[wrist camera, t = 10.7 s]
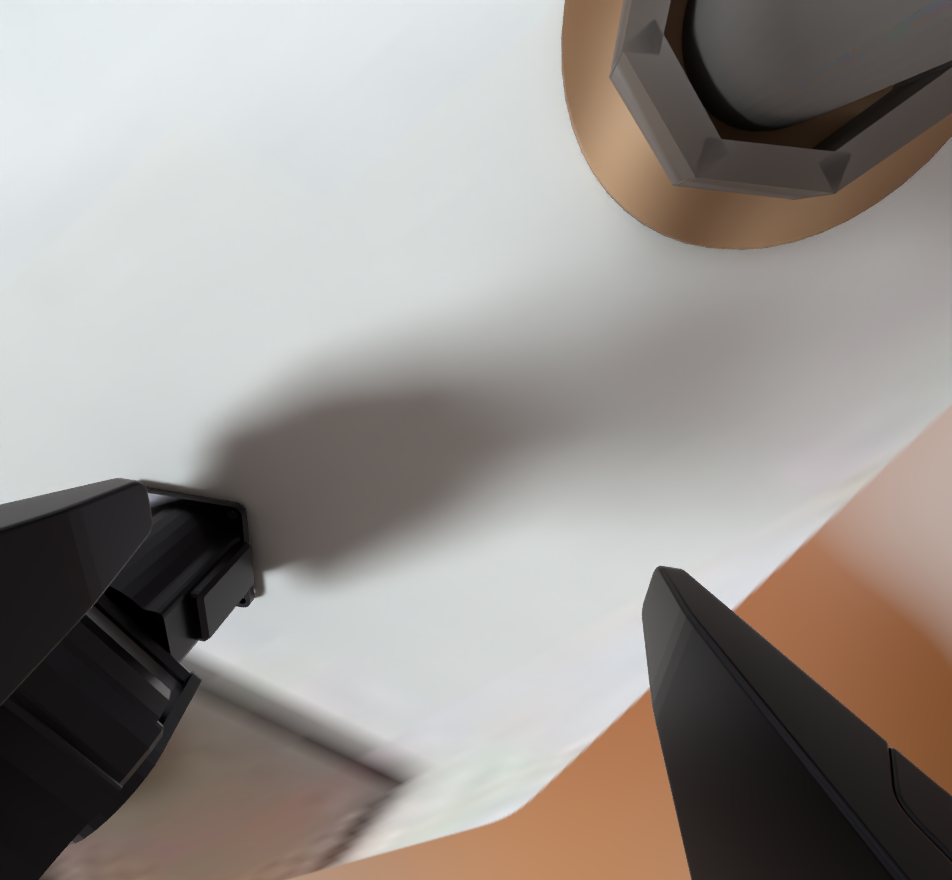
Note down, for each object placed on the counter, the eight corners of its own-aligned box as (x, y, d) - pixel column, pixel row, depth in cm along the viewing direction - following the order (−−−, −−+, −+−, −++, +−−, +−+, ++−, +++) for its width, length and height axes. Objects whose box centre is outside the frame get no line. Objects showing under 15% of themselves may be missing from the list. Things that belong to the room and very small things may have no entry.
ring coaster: (532, 226, 18) (531, 224, 15) (610, -307, 13) (633, -475, 10) (893, 270, 17) (969, 277, 14) (1132, -277, 12) (1333, -450, 9)
